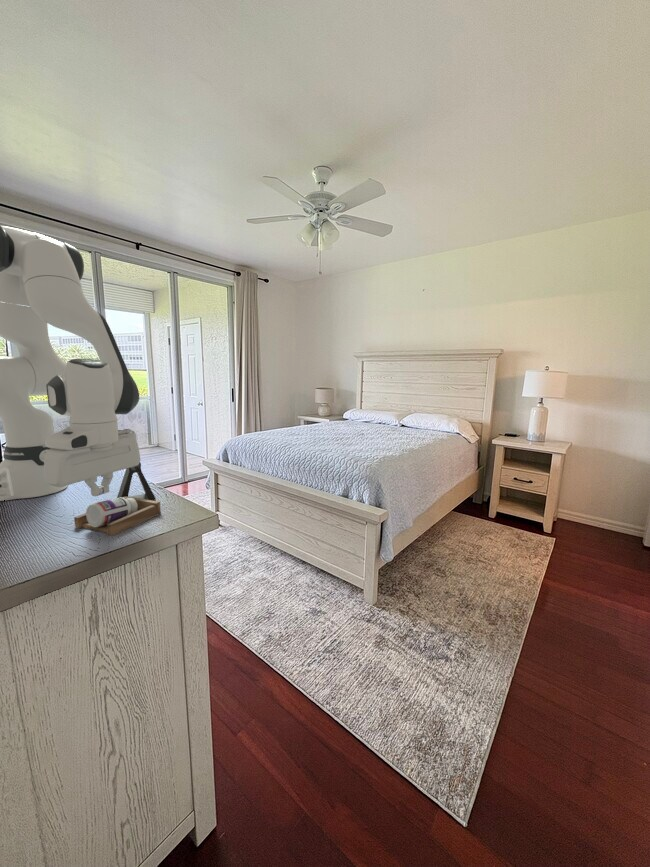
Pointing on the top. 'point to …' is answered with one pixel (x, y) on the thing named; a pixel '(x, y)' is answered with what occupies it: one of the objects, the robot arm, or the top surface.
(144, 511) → the tray
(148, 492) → the phone stand
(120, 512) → the pill bottle
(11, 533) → the top surface
